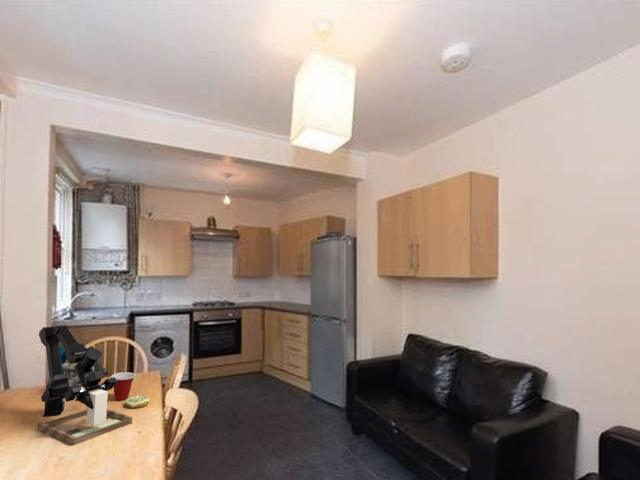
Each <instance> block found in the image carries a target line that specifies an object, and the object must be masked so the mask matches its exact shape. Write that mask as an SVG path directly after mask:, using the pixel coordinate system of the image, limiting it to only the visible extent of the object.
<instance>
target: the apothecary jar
mask: <svg viewBox="0 0 640 480" xmlns="http://www.w3.org/2000/svg"><path fill="white" fill-rule="evenodd" d="M77 364H78V363H74V364H70V363H69V362H68V361H67V359H66V360H65V361H64V363H63V364H62V365H61V366H62V370H63V371H64V374H63V376H64V377H65V378H66V377H67V378H68V382H69V386H70V388H72V387H76V386H81V384H78V381H79V378H78V376H77V373H76V372H75V373H73V370H74V368H75V366H76V365H77ZM81 387H82V386H81Z"/></svg>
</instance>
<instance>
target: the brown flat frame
mask: <svg viewBox="0 0 640 480" xmlns="http://www.w3.org/2000/svg"><path fill="white" fill-rule="evenodd" d="M85 416H86V417H87V409H84V410H82V411H79V412H75V413H74V412H73V413H71V414H69V415H65V416H62V417H59V418H55V419H52V420H49V421H46V422H39V423H37V430H38V431H40V432H42V433H44V434H47V435H48V436H50V437H51V436H52V437H53V438H55V439H58V440H60V441H63V442H64V443H66V444H69V445H71V446H75V445H78V444H81V443H83V442H87V441H88V440H91V439H94V438H96V437H99V436H103V435H104V434H107V433H111V431H115V430H117V429H120V428H123V427H126V426H128V425H131V424H133V416H131V415H127V414H125V413H121V412H119V411H115V410H113V409H110V408H107V413H106V420H108V419H109V418H111V419H113V420H115V419H118V420H120V422H117V423H114V424H112V425H109V426H106V427H104V428H101V429H98V430H95V431H93V432H90V433H87V434H84V435H82V436H79V437H75V436H73V434H75V433H78V432H81V431H83V430H82V429H80V428H73V429H71V430H70V429H69V430H67V431H64V430H60V429H58V428H56V427H54V426H57V425H61V424H63V423H66V422H70V421H72V420H76V419H79V418H81V417H85Z"/></svg>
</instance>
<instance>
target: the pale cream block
mask: <svg viewBox="0 0 640 480" xmlns="http://www.w3.org/2000/svg"><path fill="white" fill-rule="evenodd" d="M108 395H109V390H107V391H104V390H98V389H97V390H93V391H89V397H90V399H91V401H92V404H93V407H94V408H93V409H90V408H89V407H87V409H86V410H87V415H86V424H88V425H90V426H93V427H95V426H98V425H101V424H104V423H106V422H107V419H106V417H107V416H106V413H107V409H108V397H109V396H108Z"/></svg>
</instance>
